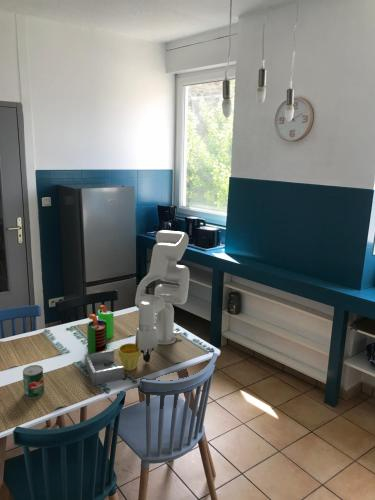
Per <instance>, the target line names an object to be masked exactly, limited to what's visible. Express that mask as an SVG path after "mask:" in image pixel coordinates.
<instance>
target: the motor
mask: <svg viewBox="0 0 375 500" xmlns="http://www.w3.org/2000/svg"><path fill="white" fill-rule="evenodd" d="M88 317H89V318H88V320H90V321H88V322H87V324H86V325H87V326H86V329H87V331H86V334H87V337H86V338H87V354H91V353H97V352H102V351H107V350H108V349H107V347H108V345H107V344H108V340H107V339H108V338H107V321H105V320H98V316H97V315H96V314H95V313H91V314H89V316H88Z"/></svg>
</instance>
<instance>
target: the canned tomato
mask: <svg viewBox="0 0 375 500" xmlns="http://www.w3.org/2000/svg"><path fill="white" fill-rule="evenodd" d="M22 379H23V391H24V394H23V395H24V397H25V398H27V399H29V400H31V399H32V400H33V399H35V400H36V399H38V398H40V397H42V396H44V394H45V381H44V379H45V378H44V368H43V366H42V365H38V364H33V365H29V366H26V367H25V368H23V370H22Z"/></svg>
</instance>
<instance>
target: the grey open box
mask: <svg viewBox="0 0 375 500" xmlns="http://www.w3.org/2000/svg"><path fill="white" fill-rule="evenodd" d="M84 358H85V359H84V360H85V361H84V362H85V363H84V364H85V368H86V371H87V373H88V375H89V377H90V380H91V383H92V385H93V386H97V385H102V384H107V383H110V382H111V383H112V382H115V381H119V380H124V376H125V375H124V374H125V373H124V372H125V369H124V367H123V366H122V365H118V366H114V367H109V368H104V369H99V370H95V366H99V365H105V364H109V363H114V362H115V350H114V349H107V350H106V351H102V352H97V353H91V354H88V353H87V354H84Z"/></svg>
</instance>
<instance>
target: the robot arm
mask: <svg viewBox="0 0 375 500" xmlns="http://www.w3.org/2000/svg"><path fill="white" fill-rule="evenodd" d="M189 239H190V238H189V235H188V234H187V232H183V231H175V230H158V231H157V232H156V235H155V241H156V244H154V246H153V247H152V254H151V260H150V265H149V270H148V273H147V274H146V276H144V277H143V278H142V279H141V280H140V282H139V284H138V286H137V288H136V293H135V298H134V299H135V301H134V304H135V305H134V306H135V307H136V308H137V309H138V327H137V328H136V333H135V342H134V344H135V346H136V344H137V346H136V352H138V351H139V349H141V354H142V356H143V357H142V359H143V361H144V362H145V363H150V360H151V354H152V352H153V351H155V350H156V349H158V347H159V346H158V345H162V346H163V345H165V346H167V345H172V344H173V343H174V344H175V342H176V341H177V336H181V335H183V333H182V331H181V330H180V331H178V329H175V330H174V324H175V323H174V321H175V310H174V307H173V304H175V305H184V304H185V303H186V302H187V300H188V293H189V287H190V285H189V283H190V269H189V267H187V266H186V265H181V264H178V262H179V261H181V259H182V257H183V256H184V253H185V252H186V249H187V247H188V246H189ZM156 280H160V281H163V282H168V283H174V284H167V283H160V284H158V285H156V286H155V288H154V295H153V294H148V293H145V289H146V287H147V286H148V285H149V284H151V283H152V282H154V281H156ZM176 284H178V285H176Z"/></svg>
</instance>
